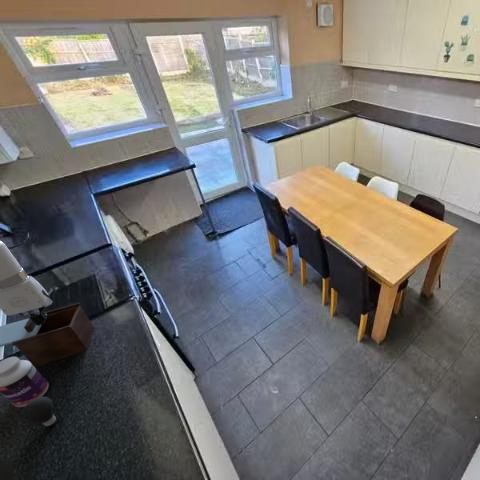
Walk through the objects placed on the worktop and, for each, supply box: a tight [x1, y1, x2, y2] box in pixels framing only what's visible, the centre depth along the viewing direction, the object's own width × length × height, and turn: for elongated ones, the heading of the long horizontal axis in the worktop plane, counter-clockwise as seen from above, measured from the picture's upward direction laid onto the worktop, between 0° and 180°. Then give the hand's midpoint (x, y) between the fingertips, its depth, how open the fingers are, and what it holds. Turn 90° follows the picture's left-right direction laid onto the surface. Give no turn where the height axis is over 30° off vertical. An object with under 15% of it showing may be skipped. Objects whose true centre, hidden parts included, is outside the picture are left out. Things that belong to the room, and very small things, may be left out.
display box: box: [11, 302, 95, 368], centre depth 95 cm, size 15×13×13 cm
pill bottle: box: [0, 356, 50, 408], centre depth 79 cm, size 8×8×14 cm
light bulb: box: [21, 396, 57, 427], centre depth 73 cm, size 6×6×10 cm
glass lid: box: [0, 314, 47, 348], centre depth 88 cm, size 15×11×3 cm
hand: (42, 322), depth 91 cm, fingers closed
